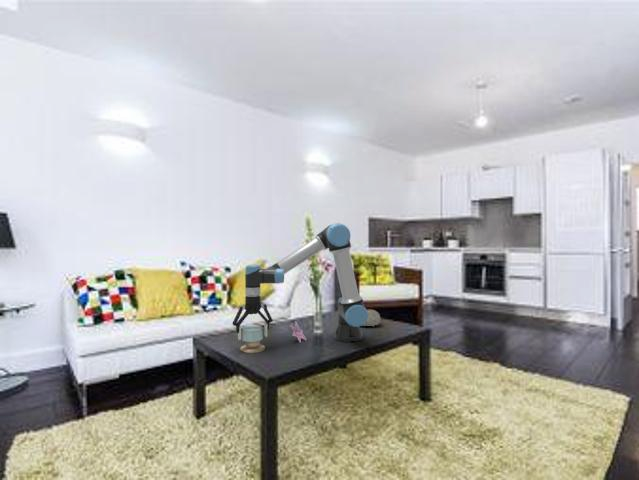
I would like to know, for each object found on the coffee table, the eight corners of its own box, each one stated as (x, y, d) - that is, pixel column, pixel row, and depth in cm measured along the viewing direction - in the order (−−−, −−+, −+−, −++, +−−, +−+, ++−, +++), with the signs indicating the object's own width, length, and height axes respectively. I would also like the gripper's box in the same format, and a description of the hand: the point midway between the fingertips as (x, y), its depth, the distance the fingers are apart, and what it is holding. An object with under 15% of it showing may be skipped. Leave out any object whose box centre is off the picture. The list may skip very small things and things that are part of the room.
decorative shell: (353, 328, 231) (353, 312, 231) (352, 322, 248) (352, 307, 248) (382, 328, 230) (382, 312, 230) (378, 322, 248) (378, 307, 248)
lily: (288, 346, 194) (297, 331, 193) (278, 333, 203) (287, 319, 202) (305, 349, 202) (313, 334, 201) (294, 336, 211) (303, 322, 210)
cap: (246, 336, 191) (246, 325, 191) (263, 337, 190) (263, 325, 190) (241, 341, 182) (241, 329, 182) (259, 342, 181) (259, 329, 181)
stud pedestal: (269, 348, 187) (269, 330, 187) (253, 354, 177) (253, 335, 177) (252, 344, 194) (252, 327, 194) (235, 350, 184) (235, 332, 184)
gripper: (229, 298, 177) (229, 342, 177) (278, 294, 188) (278, 336, 188) (226, 296, 184) (226, 338, 184) (273, 293, 195) (273, 333, 195)
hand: (252, 337), depth 186 cm, fingers open, 13 cm apart
